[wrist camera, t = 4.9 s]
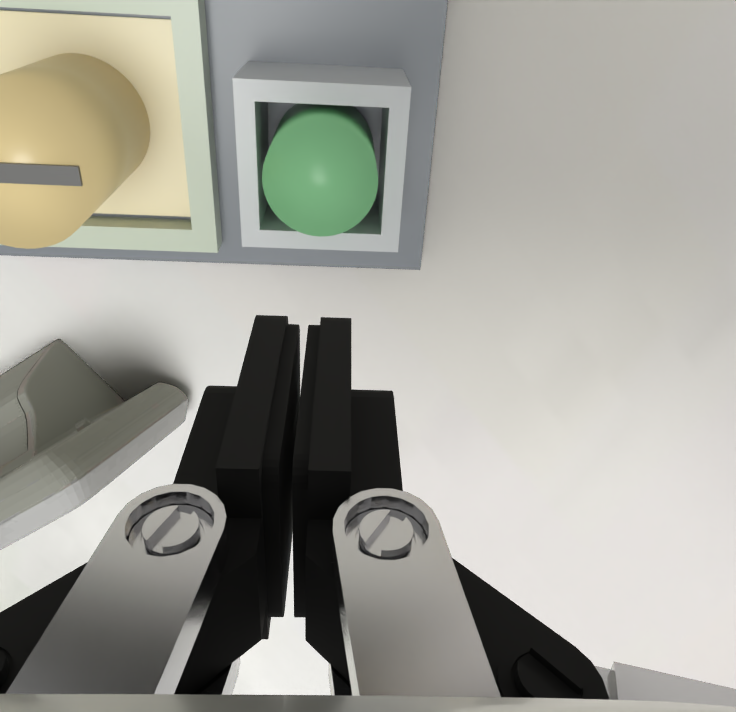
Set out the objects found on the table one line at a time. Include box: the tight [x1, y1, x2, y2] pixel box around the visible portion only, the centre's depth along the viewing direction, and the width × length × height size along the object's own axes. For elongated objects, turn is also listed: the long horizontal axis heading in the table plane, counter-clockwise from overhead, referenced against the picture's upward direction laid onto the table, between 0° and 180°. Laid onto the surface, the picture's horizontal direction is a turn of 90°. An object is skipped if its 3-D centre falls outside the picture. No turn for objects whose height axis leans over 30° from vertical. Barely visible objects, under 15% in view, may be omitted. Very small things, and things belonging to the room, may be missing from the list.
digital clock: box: [0, 340, 188, 550], centre depth 31 cm, size 16×9×11 cm, turn 110°
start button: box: [262, 103, 378, 237], centre depth 24 cm, size 4×4×4 cm
